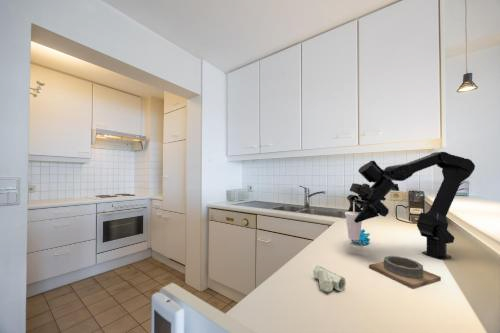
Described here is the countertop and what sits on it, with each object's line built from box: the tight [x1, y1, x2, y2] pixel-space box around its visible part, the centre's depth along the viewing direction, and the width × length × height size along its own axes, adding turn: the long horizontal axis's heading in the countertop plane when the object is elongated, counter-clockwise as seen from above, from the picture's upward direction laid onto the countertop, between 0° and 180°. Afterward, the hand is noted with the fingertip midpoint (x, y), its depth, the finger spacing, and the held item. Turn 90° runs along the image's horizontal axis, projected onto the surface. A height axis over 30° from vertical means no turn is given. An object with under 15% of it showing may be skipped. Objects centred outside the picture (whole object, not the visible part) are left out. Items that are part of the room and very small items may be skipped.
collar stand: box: [368, 255, 442, 290], centre depth 64 cm, size 13×13×4 cm
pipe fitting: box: [312, 264, 347, 293], centre depth 56 cm, size 8×4×7 cm
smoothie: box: [344, 202, 363, 241], centre depth 78 cm, size 6×6×14 cm
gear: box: [351, 228, 371, 247], centre depth 93 cm, size 11×6×10 cm
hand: (350, 219), depth 78 cm, fingers closed on smoothie, 6 cm apart
